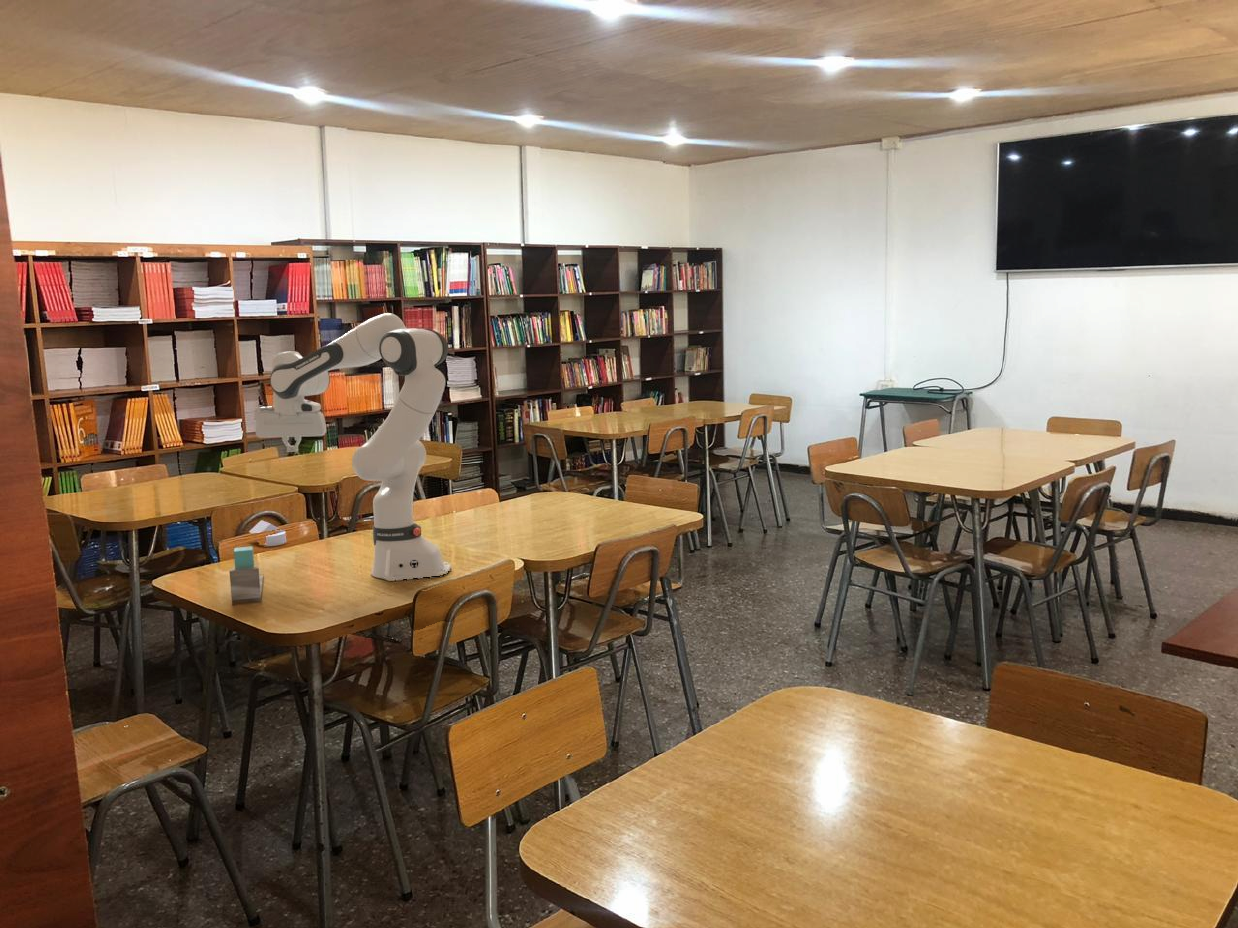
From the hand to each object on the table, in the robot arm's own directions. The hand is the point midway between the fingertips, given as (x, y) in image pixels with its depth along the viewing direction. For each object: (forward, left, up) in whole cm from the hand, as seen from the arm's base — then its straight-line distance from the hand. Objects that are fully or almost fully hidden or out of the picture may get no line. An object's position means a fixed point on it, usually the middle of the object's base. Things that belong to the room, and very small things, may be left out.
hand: (292, 451), depth 284 cm
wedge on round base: (+18, -30, -34) cm, 49 cm away
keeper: (+4, +39, -33) cm, 51 cm away
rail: (+6, +31, -34) cm, 46 cm away
